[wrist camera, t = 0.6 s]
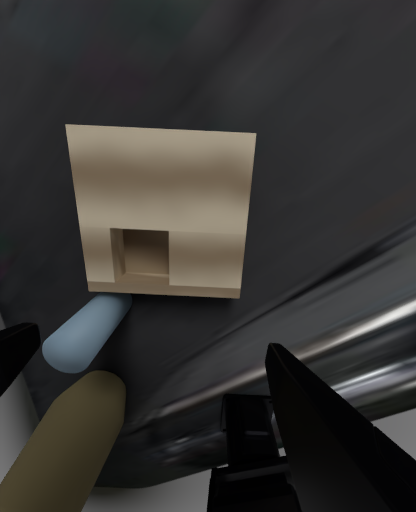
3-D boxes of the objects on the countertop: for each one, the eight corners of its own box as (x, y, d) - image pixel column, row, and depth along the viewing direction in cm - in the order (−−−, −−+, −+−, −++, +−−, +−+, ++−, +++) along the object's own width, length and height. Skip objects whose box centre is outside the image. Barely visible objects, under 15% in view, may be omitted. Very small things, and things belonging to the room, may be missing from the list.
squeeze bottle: (63, 366, 25) (-266, 745, 8) (124, 357, 24) (-81, 743, 7) (85, 412, 27) (-130, 785, 10) (142, 405, 27) (18, 787, 9)
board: (235, 284, 21) (239, 298, 19) (105, 278, 21) (88, 291, 19) (248, 143, 17) (256, 133, 15) (89, 136, 17) (65, 124, 15)
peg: (133, 313, 23) (93, 374, 15) (102, 312, 23) (47, 371, 15) (131, 285, 22) (87, 335, 14) (99, 284, 22) (37, 332, 14)
